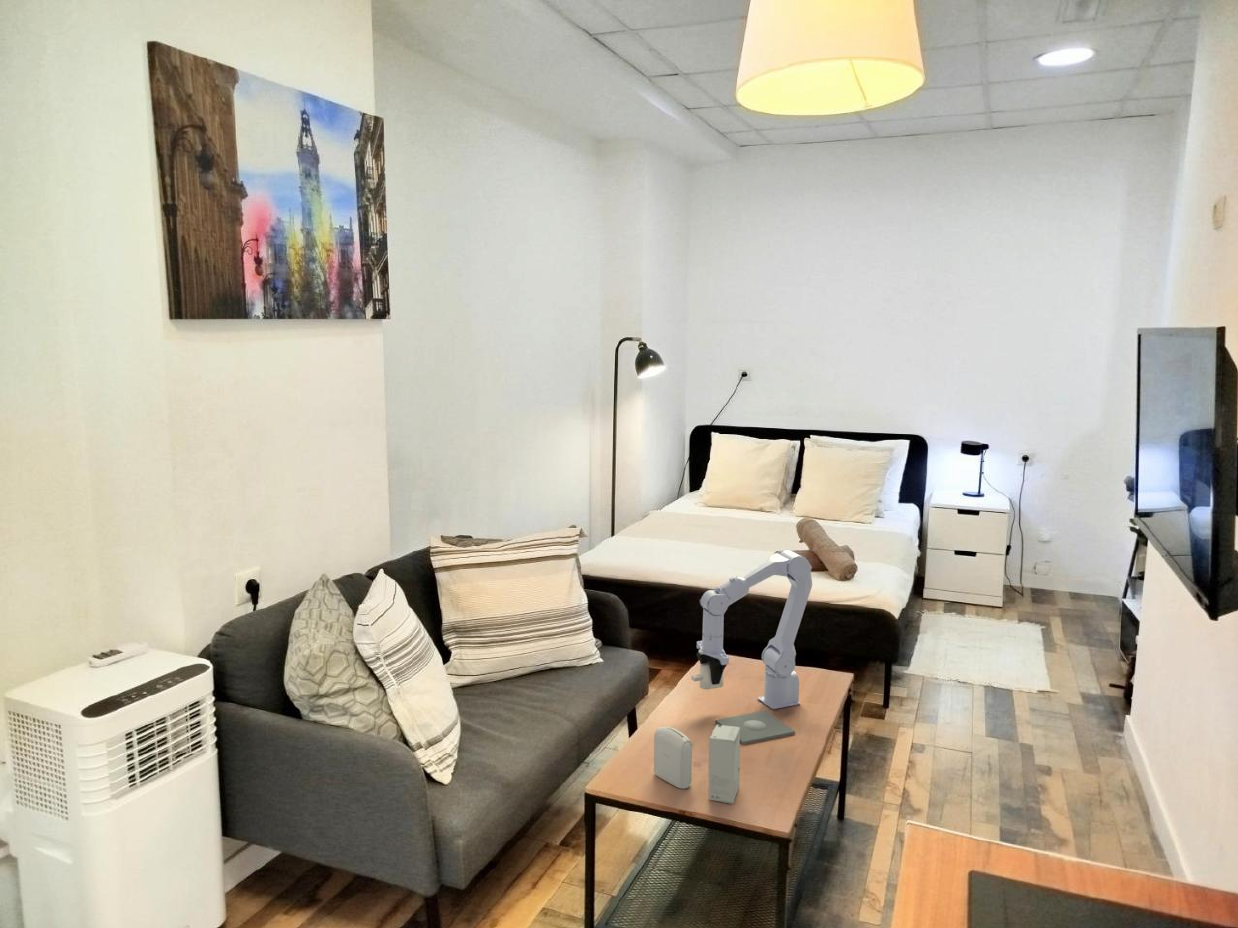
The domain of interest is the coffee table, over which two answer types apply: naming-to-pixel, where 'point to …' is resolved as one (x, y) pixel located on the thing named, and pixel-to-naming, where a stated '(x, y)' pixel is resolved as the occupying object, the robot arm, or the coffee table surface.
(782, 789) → the coffee table surface
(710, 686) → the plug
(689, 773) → the photo printer
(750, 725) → the mat
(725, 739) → the skincare box
